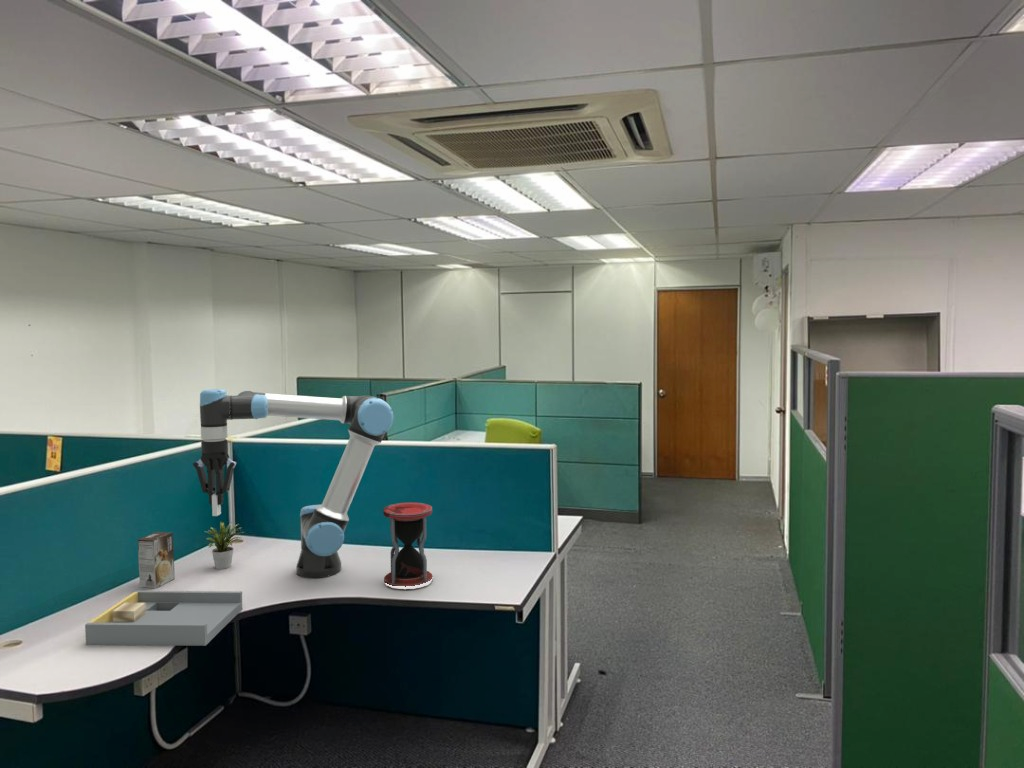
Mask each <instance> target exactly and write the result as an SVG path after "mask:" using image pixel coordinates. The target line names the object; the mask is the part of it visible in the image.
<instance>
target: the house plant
mask: <svg viewBox="0 0 1024 768" xmlns="http://www.w3.org/2000/svg"><path fill="white" fill-rule="evenodd" d="M232 523H233V521H231V522H230V523H229V524H228V525H227V526H225V522H222V521H220V522H219V531H218V530H217V529H216V527H215V528H214V527H211V526H210V527H209V528H210V530H209V529H208V530H207V531H206V530H205V533H208V534H209V535H210V536H211V537H206V540H208V541H211V542H209V543H208V545H207V546H208V548H211V547H214V548H213V549H212V550H211V552H212V553H211V554H212V557H213V562H214V566H215V569H217V570H225V569H229V568H231V567H232V561H233V555H234V547H233V543H234V542H237V541H241V542H242V540H241V539H242V537H241V536H240V537H239V536H236V535H240V534H242V533H244V531H240V530H239V529H240V527H238V526H239V523H237V524H235V525H234V526H233V527H231V529H230V530H229V528H230V526H231V524H232ZM236 527H238V528H236ZM242 528H243V527H241V529H242ZM228 530H229V532H228ZM237 531H239V532H237ZM234 536H235V537H234ZM212 542H213V543H212ZM215 547H216V548H215Z"/></svg>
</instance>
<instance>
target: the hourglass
mask: <svg viewBox="0 0 1024 768" xmlns="http://www.w3.org/2000/svg"><path fill="white" fill-rule="evenodd" d="M382 511H383V512H382V514H383V516H384V517H385V518H388V519H389V532H390V534H391V538H390V539H391V543H392V545H393V546H392V547H391V549H390V572H389V573H387V574H385V575H384V578H383V579H384V580H383V581H384V582H385V583H387V584H389V585H392V586H405V587H406V586H415V585H420V584H423V583H426V582H428V581H430V580H431V579H432V577H433V578H434V576H433V573H432V572H431V571H428V570H427V569H428V567H427V566H428V565H427V564H428V561H427V560H428V559H427V556H426V554H425V548H424V544H425V542H426V541H427V517H429V516H431V515H432V514H433V506H432V505H430V504H426V503H424V502H423V503H422V502H400V503H394V504H389V505H387V506H385V507H384V508H383V510H382ZM399 541H400V542H401V543H403V547H402V548H401V549H400V547H399ZM415 541H416V544H417V546H418V550H417V549H416V548H415V547H414V546H413V544H414V543H415Z"/></svg>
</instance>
